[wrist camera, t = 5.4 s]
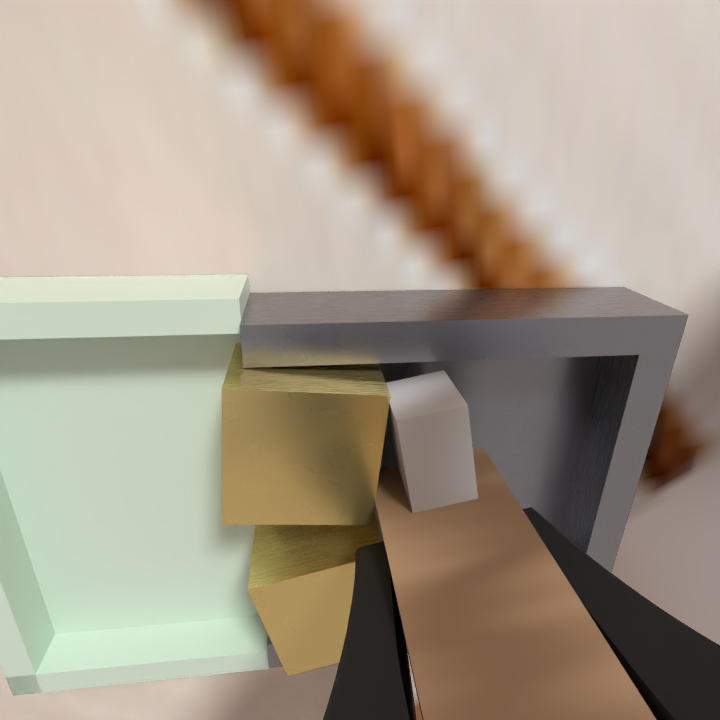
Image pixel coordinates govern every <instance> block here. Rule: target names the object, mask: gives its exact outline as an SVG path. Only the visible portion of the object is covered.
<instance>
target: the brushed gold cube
mask: <svg viewBox="0 0 720 720" xmlns="http://www.w3.org/2000/svg"><path fill="white" fill-rule="evenodd" d="M390 397H391V395H390V393H389V390H388V387H387V385H386V382H385V379H384V377H383V374H382V371H381V369H380V366H379V363H375V364H345V365H315V366H284V367H254V368H243V360H242V348H241V344H237V343H236V344H235V348H234V351H233V354H232V357H231V360H230V364H229V367H228V370H227V373H226V376H225V379H224V383H223V386H222V525H372V519H373V512H374V505H375V498H376V492H377V485H378V478H379V471H380V465H381V458H382V451H383V445H384V438H385V431H386V424H387V418H388V411H389V404H390Z"/></svg>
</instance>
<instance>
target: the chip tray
mask: <svg viewBox="0 0 720 720" xmlns="http://www.w3.org/2000/svg"><path fill="white" fill-rule="evenodd" d="M249 294H250V292H249V279H248V274H233V275H145V276H58V277H0V665H1V667H2V670H3V672H4V675H5V677H6V679H7V682H8V684H9V687H10V689H11V691H12V694H13V695H22V694H32V693H42V692H51V691H61V690H70V689H80V688H90V687H99V686H109V685H119V684H128V683H138V682H148V681H157V680H167V679H177V678H186V677H196V676H206V675H215V674H225V673H235V672H244V671H254V670H264V669H270V667H269V662H268V651H267V636H268V633H267V631H266V629H265V626H264V624H263V622H262V620H261V618H260V616H259V613H258V611H257V609H256V607H255V605H254V603H253V600H252V598H251V596H250V594H249V592H248V583H249V574H250V566H251V557H252V548H253V539H254V530H255V525H222V386H223V383H224V379H225V376H226V373H227V370H228V367H229V364H230V360H231V357H232V354H233V351H234V348H235V344H236V343H237V344H241V337H240V322H241V319H242V316H243V313H244V309H245V306H246V303H247V300H248V297H249Z"/></svg>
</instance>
